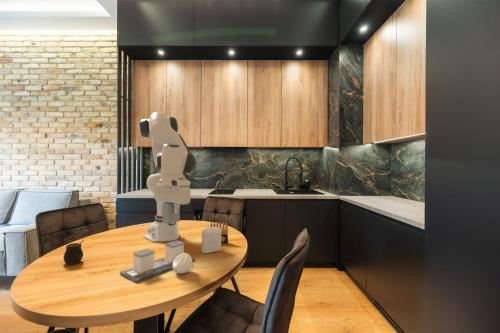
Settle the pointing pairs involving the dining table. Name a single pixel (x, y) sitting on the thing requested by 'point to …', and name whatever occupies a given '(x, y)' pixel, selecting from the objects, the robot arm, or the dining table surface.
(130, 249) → the dining table surface
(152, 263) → the plate
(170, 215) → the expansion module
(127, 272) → the rail panel
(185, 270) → the white lumpy ball
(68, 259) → the mate gourd
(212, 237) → the photo printer
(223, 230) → the ammunition clip
